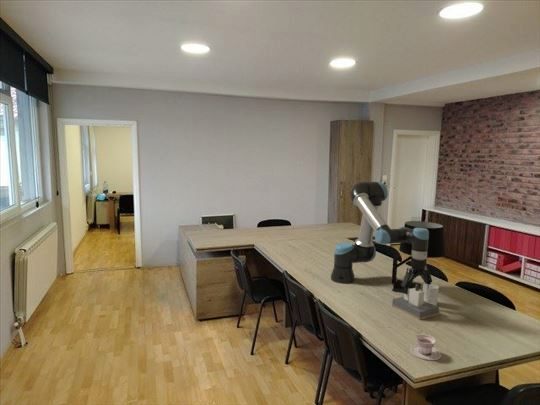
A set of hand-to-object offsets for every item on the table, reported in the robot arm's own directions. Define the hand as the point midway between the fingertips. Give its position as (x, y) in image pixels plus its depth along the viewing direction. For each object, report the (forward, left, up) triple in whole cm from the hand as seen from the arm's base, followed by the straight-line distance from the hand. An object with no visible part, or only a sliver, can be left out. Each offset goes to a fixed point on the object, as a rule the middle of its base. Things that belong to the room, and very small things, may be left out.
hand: (415, 297), depth 193 cm
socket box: (0, 0, -7) cm, 7 cm away
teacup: (+32, -30, -7) cm, 44 cm away
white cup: (-3, +15, -7) cm, 17 cm away
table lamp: (-22, +26, -7) cm, 35 cm away
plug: (0, 0, -6) cm, 6 cm away
